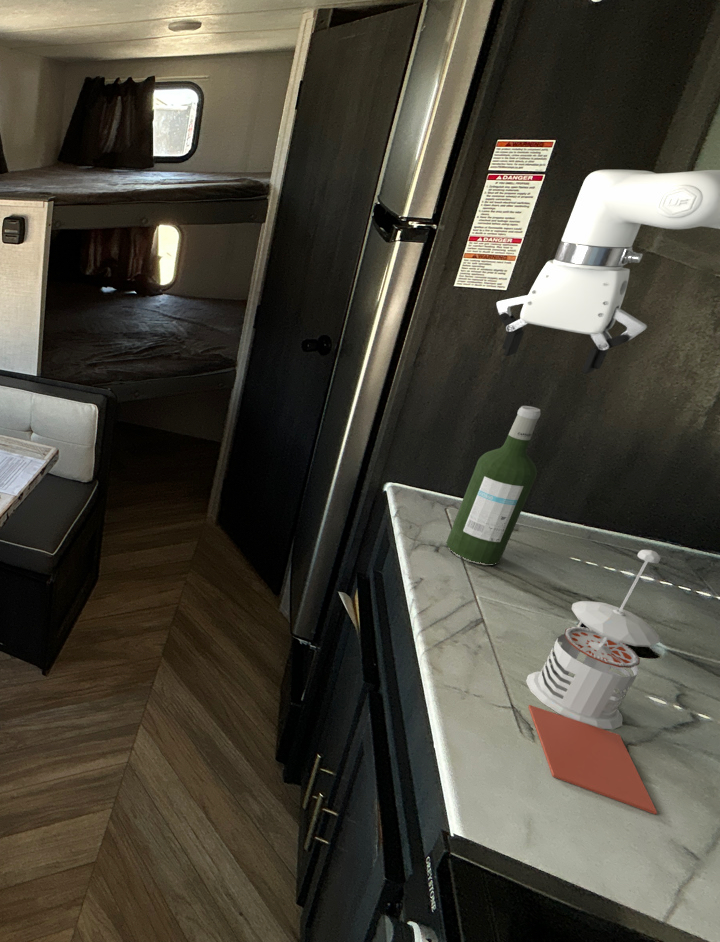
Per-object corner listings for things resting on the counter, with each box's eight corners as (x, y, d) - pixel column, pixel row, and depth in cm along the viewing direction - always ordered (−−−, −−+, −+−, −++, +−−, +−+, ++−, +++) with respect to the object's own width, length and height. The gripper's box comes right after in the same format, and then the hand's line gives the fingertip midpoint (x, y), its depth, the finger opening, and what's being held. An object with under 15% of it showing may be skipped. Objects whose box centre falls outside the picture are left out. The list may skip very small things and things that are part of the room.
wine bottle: (490, 547, 120) (551, 404, 109) (505, 571, 114) (571, 421, 102) (440, 537, 123) (493, 396, 112) (451, 559, 117) (509, 413, 105)
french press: (529, 704, 87) (604, 555, 78) (521, 653, 96) (587, 514, 86) (631, 743, 81) (724, 587, 72) (612, 685, 90) (693, 540, 81)
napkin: (618, 736, 82) (619, 734, 82) (656, 814, 73) (657, 812, 73) (528, 706, 87) (529, 704, 87) (552, 776, 77) (553, 774, 77)
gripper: (681, 263, 90) (630, 375, 96) (527, 246, 103) (490, 345, 110) (666, 268, 86) (613, 384, 93) (508, 249, 100) (471, 351, 106)
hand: (547, 362), depth 101 cm, fingers open, 9 cm apart
